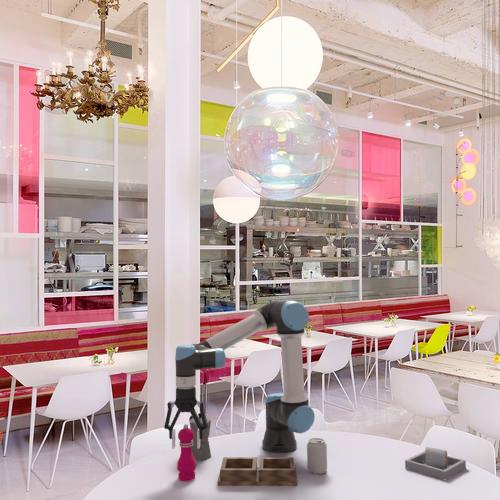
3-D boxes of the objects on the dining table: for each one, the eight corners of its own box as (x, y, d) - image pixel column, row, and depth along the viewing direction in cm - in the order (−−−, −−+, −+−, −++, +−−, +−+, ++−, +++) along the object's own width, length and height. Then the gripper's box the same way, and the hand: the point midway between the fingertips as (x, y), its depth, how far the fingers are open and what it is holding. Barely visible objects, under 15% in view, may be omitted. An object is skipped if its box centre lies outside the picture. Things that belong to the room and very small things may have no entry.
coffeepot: (218, 458, 217) (217, 414, 218) (198, 463, 212) (197, 418, 213) (199, 448, 230) (199, 407, 231) (180, 453, 225) (180, 410, 225)
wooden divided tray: (296, 471, 202) (295, 456, 203) (297, 486, 188) (297, 470, 189) (221, 471, 204) (221, 456, 204) (217, 486, 190) (217, 470, 190)
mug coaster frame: (426, 457, 215) (426, 450, 215) (465, 468, 203) (465, 460, 203) (405, 468, 204) (405, 460, 204) (445, 480, 192) (445, 471, 192)
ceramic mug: (448, 472, 199) (447, 451, 200) (425, 470, 202) (425, 450, 202) (446, 463, 209) (445, 443, 210) (424, 461, 212) (424, 441, 212)
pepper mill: (193, 482, 193) (192, 427, 194) (174, 481, 194) (173, 426, 195) (198, 474, 200) (197, 421, 201) (180, 473, 201) (179, 421, 202)
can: (323, 476, 197) (323, 444, 198) (304, 473, 200) (304, 441, 201) (329, 469, 204) (328, 438, 204) (311, 466, 207) (310, 435, 208)
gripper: (155, 389, 195) (155, 450, 194) (213, 389, 194) (213, 450, 193) (159, 384, 203) (160, 444, 202) (215, 384, 202) (215, 444, 201)
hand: (186, 447), depth 198 cm, fingers open, 9 cm apart
